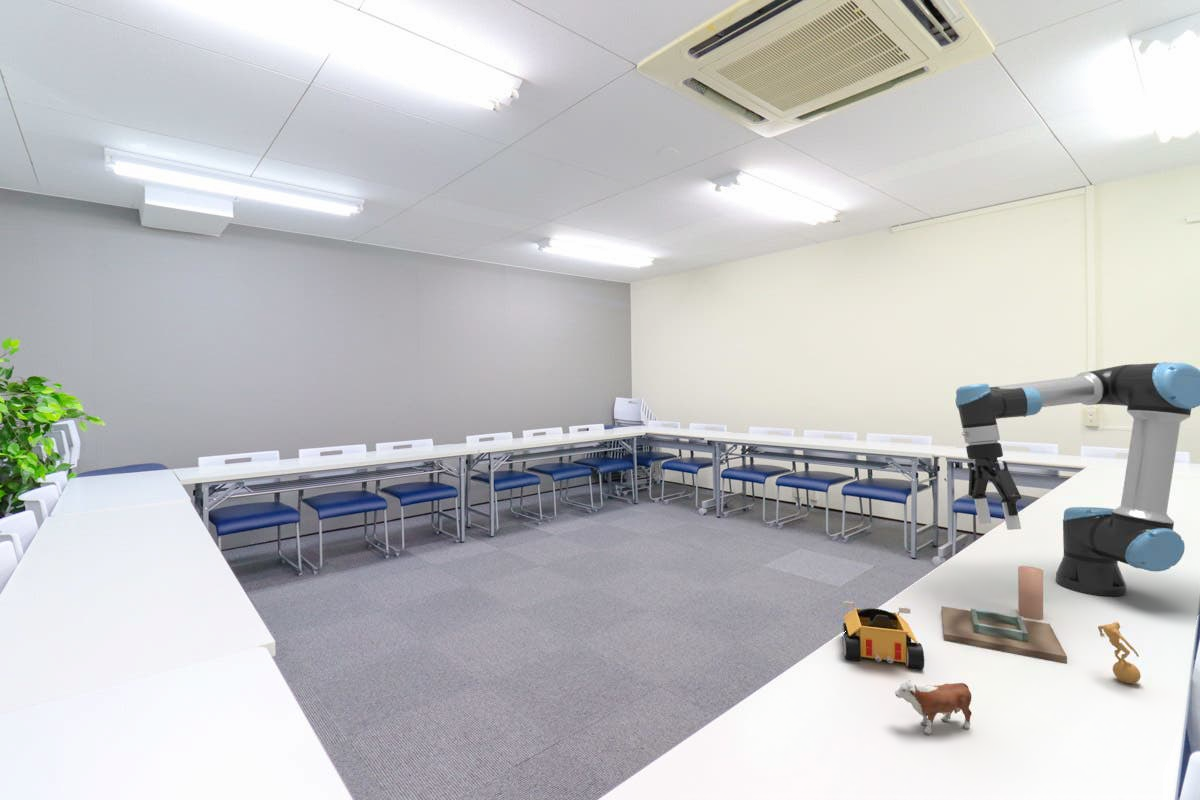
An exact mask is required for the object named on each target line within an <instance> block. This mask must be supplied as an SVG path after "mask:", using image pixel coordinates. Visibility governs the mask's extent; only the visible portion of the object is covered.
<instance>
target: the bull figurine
mask: <svg viewBox="0 0 1200 800" xmlns="http://www.w3.org/2000/svg"><path fill="white" fill-rule="evenodd" d="M894 691H895V692H894V695H895V696H896V698H899V699H904V700H905V701H906V702H907V703H910V704H911V706H912V708H913V709H914V710H915V711H916V712H917V713H918V714H919V715H921V716H922V720H921V722H920V725H922V726H925V729H924V730H923V733H924V735H926V736H930V735H931V733H932V725H933V723H934V720H935V717H936V716H937V714H942V715H943V716H942V717H941V719H940V720H941V721H942V722H946V723H947V722H948V721H949V720H951V719H952V717H951V716H952V714H953V712H954V714H956V715H957V714H958V712H961V711H962V714H963V715H964V723H963V724H962V728H963V729H965V730H969V729H970V726H971V716H972V711H971V709H970V705H971V702H972V693H971V691H970V688H969V686H968V685H967V684H966V683H964V682H956V683H944V684H942V685H941V684H940V685H928V684H927V685H925V684H921V683H920V684H913V683H912V682H911V680H910V679H909V680H906V681H904V682H903V683H901V684H900V686H899V688H898V689H897V690H894Z"/></svg>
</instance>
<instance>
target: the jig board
mask: <svg viewBox="0 0 1200 800" xmlns="http://www.w3.org/2000/svg"><path fill="white" fill-rule="evenodd" d="M941 617H942V628H943V640H944V641H946V642H947V641H948V642H951V643H957V644H963V645H967V646H973V647H979V648H983V649H989V650H995V651H1000V652H1005V653H1010V654H1014V655H1015V654H1017V655H1021V656H1025V657H1031V658H1035V659H1041V660H1047V661H1054V662H1058V663H1062V664H1063V663H1064V664H1068V655H1067V653H1066V651H1065V650H1064V648H1063V646H1062V645H1061V644H1062V643H1061V642H1060V641H1059V638H1058V636H1057V634H1056V633H1055V631H1054V630H1053V627H1052V626H1051V623H1049V622H1048V623H1046V622H1041V621H1036V620H1031V619H1028V620H1027V619H1023V617H1022V616H1020V615H1019V616H1018V615H1012V614H1006V613H1000V612H994V611H989V610H981V609H976V608H975V609H974V608H970V610H968V609H962V608H954V607H949V606H941Z"/></svg>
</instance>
